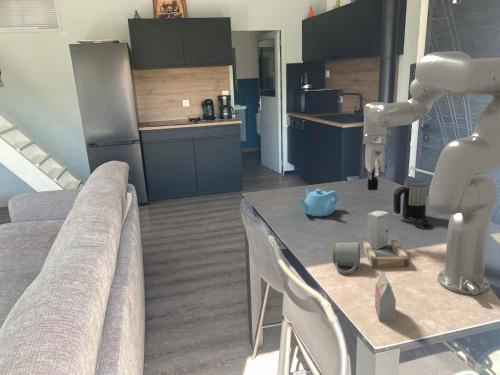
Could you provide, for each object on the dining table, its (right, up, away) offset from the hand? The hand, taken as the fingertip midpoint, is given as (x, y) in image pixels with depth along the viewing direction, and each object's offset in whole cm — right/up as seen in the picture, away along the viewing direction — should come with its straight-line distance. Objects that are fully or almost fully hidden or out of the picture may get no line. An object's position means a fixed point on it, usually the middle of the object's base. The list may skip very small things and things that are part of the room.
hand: (372, 189), depth 138 cm
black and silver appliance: (+23, -13, +17) cm, 32 cm away
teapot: (-14, -11, +33) cm, 37 cm away
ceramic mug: (-13, -25, -17) cm, 33 cm away
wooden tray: (0, -22, -12) cm, 25 cm away
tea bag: (-10, -31, -41) cm, 53 cm away
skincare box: (+1, -20, -3) cm, 20 cm away
